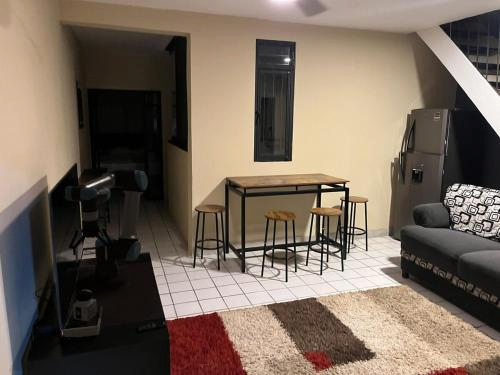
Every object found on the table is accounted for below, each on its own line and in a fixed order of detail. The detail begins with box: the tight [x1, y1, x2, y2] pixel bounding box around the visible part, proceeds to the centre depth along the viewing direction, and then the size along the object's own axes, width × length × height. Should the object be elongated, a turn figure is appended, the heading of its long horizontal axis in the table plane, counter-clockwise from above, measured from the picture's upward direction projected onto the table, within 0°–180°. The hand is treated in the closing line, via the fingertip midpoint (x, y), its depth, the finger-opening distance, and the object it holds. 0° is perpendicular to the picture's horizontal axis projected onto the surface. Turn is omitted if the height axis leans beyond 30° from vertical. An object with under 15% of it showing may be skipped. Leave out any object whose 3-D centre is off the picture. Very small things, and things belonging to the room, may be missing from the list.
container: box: [72, 289, 98, 322], centre depth 189 cm, size 8×8×13 cm
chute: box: [62, 305, 103, 338], centre depth 184 cm, size 24×15×4 cm, turn 16°
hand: (91, 259), depth 196 cm, fingers open, 13 cm apart
